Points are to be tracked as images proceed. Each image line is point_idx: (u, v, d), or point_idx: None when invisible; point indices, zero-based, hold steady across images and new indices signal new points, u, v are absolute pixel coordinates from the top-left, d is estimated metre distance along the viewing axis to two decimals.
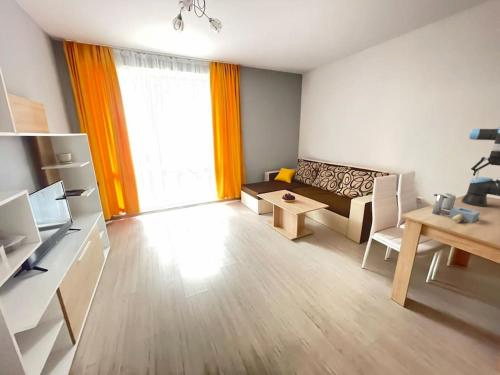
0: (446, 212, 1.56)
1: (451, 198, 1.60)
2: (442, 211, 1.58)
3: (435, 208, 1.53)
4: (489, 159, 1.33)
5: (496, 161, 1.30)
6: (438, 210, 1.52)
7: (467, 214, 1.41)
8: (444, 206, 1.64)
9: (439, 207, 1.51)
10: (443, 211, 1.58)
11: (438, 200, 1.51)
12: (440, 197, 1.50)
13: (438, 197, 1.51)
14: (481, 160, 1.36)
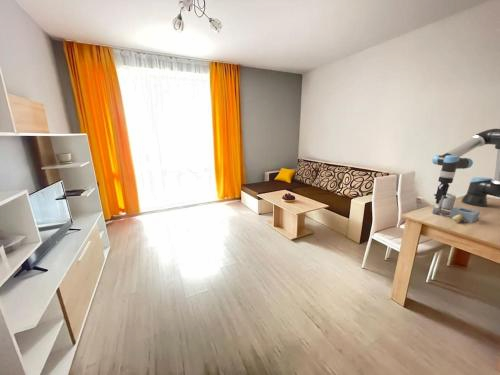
0: (446, 212, 1.56)
1: (451, 198, 1.60)
2: (442, 211, 1.58)
3: (435, 208, 1.53)
4: None
5: None
6: (438, 210, 1.52)
7: (467, 214, 1.41)
8: (444, 206, 1.64)
9: (439, 207, 1.51)
10: (443, 211, 1.58)
11: None
12: None
13: None
14: None
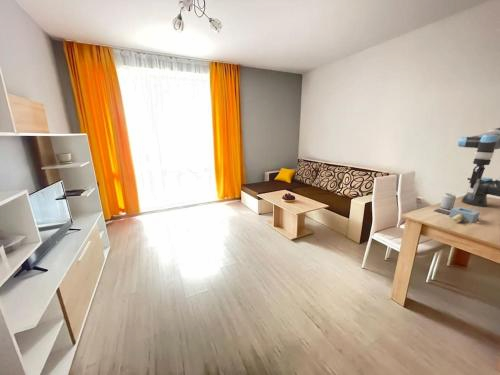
0: (446, 212, 1.56)
1: (451, 198, 1.60)
2: (442, 211, 1.58)
3: (469, 193, 1.42)
4: None
5: None
6: (472, 195, 1.41)
7: (467, 214, 1.41)
8: (444, 206, 1.64)
9: (474, 192, 1.40)
10: (443, 211, 1.58)
11: None
12: None
13: None
14: None
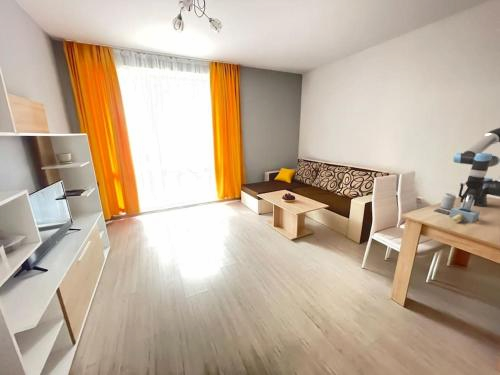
0: (446, 212, 1.56)
1: (451, 198, 1.60)
2: (442, 211, 1.58)
3: None
4: None
5: None
6: (462, 210, 1.46)
7: (467, 214, 1.41)
8: (444, 206, 1.64)
9: (463, 207, 1.45)
10: (443, 211, 1.58)
11: None
12: (466, 196, 1.44)
13: None
14: None
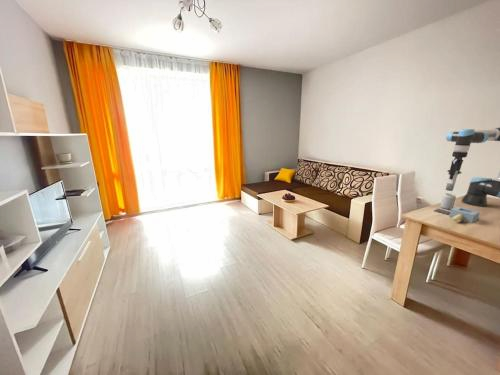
0: (446, 212, 1.56)
1: (451, 198, 1.60)
2: (442, 211, 1.58)
3: (448, 184, 1.51)
4: None
5: None
6: (452, 186, 1.50)
7: (467, 214, 1.41)
8: (444, 206, 1.64)
9: (453, 183, 1.50)
10: (443, 211, 1.58)
11: None
12: None
13: None
14: None
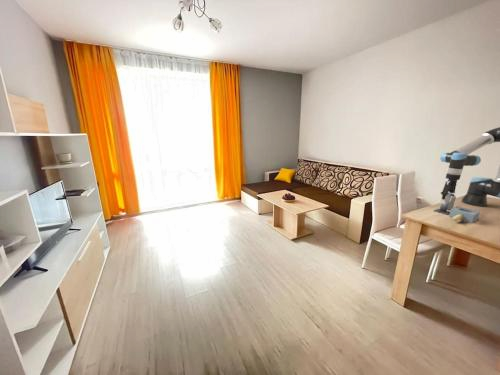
0: (446, 212, 1.56)
1: None
2: None
3: (442, 206, 1.56)
4: None
5: None
6: (445, 208, 1.55)
7: (467, 214, 1.41)
8: None
9: (446, 205, 1.55)
10: None
11: None
12: (447, 195, 1.53)
13: None
14: None
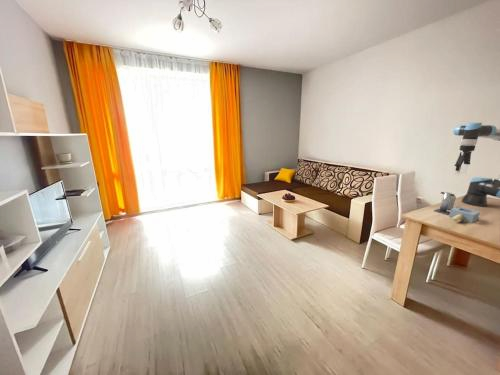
0: (446, 212, 1.56)
1: (451, 198, 1.60)
2: None
3: (442, 206, 1.56)
4: None
5: None
6: (445, 208, 1.55)
7: (467, 214, 1.41)
8: None
9: (446, 205, 1.55)
10: None
11: (445, 198, 1.54)
12: (447, 195, 1.53)
13: (445, 195, 1.54)
14: None
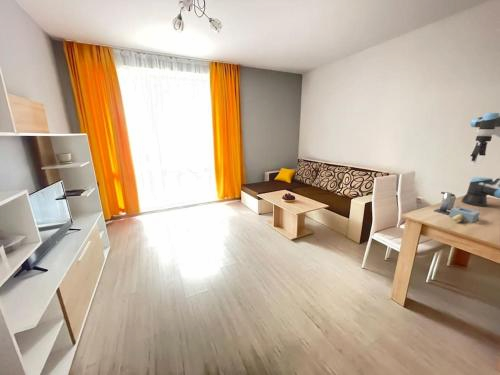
0: (446, 212, 1.56)
1: (451, 198, 1.60)
2: None
3: (442, 206, 1.56)
4: None
5: None
6: (445, 208, 1.55)
7: (467, 214, 1.41)
8: None
9: (446, 205, 1.54)
10: None
11: (445, 198, 1.54)
12: (447, 195, 1.53)
13: (445, 195, 1.54)
14: None
